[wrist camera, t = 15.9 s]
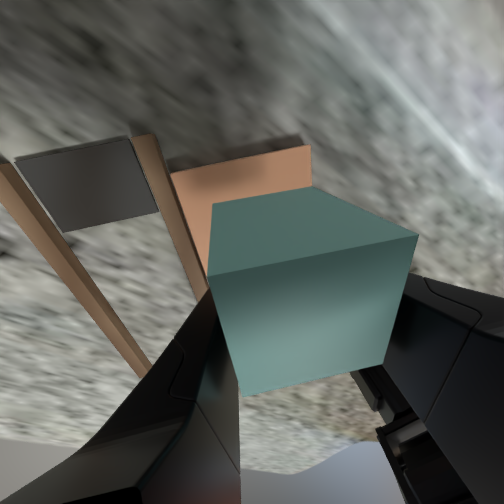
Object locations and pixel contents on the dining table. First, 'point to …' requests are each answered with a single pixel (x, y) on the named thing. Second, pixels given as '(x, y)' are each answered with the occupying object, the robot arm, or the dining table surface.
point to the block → (304, 285)
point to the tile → (237, 186)
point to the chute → (98, 216)
